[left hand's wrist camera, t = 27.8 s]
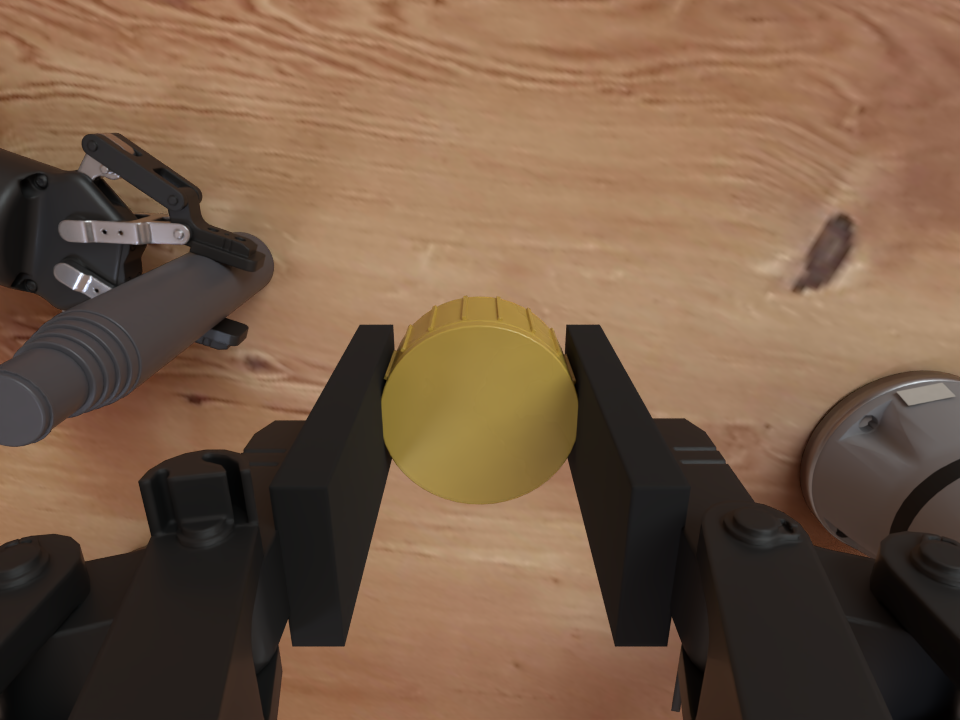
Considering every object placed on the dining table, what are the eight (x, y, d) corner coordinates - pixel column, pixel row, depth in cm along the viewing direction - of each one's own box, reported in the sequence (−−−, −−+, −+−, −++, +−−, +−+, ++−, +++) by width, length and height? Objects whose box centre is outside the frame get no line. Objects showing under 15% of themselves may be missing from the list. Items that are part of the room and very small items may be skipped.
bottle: (240, 218, 42) (-18, 330, 20) (286, 265, 43) (90, 417, 22) (200, 259, 43) (-86, 406, 21) (246, 304, 44) (20, 486, 23)
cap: (353, 367, 14) (334, 407, 12) (495, 255, 13) (498, 279, 11) (465, 486, 15) (463, 539, 13) (604, 392, 14) (622, 434, 13)
